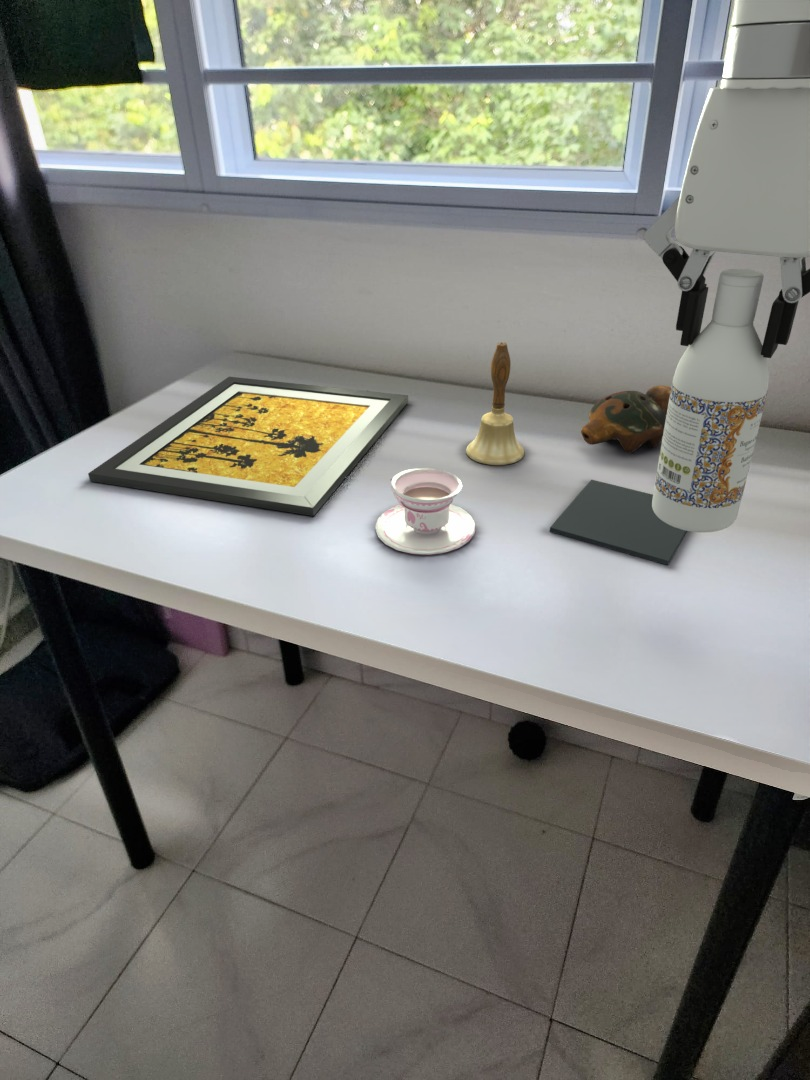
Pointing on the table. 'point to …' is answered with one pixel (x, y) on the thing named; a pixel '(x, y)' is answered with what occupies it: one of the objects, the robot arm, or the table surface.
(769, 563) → the table surface
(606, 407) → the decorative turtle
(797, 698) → the table surface
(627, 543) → the mat
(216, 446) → the picture frame
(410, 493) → the teacup
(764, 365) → the bath foam
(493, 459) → the hand bell
